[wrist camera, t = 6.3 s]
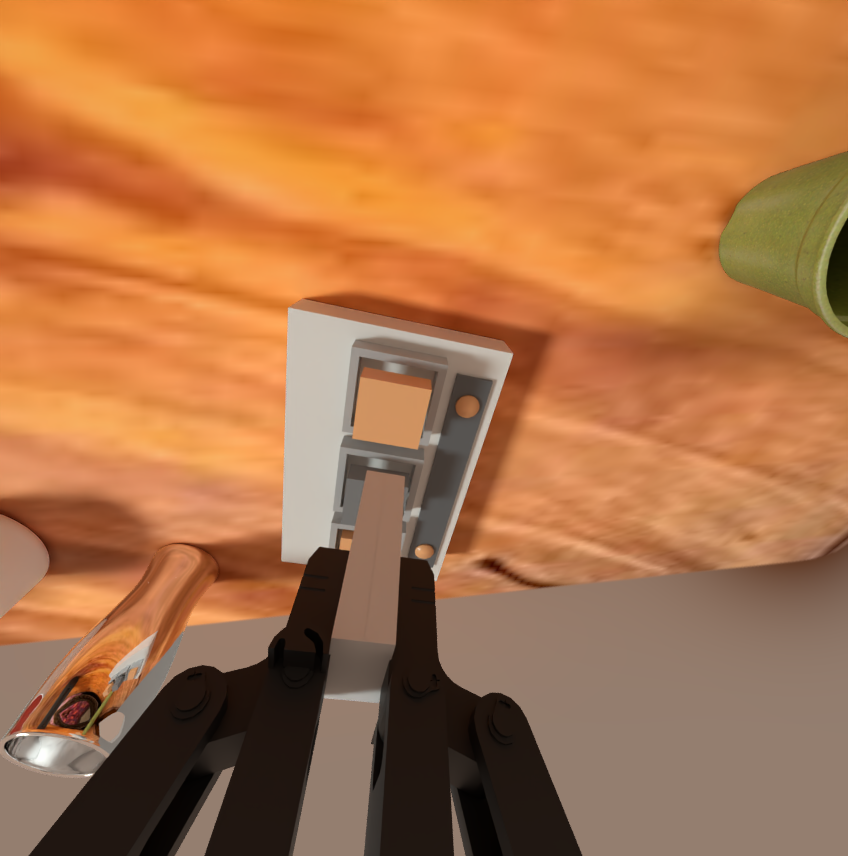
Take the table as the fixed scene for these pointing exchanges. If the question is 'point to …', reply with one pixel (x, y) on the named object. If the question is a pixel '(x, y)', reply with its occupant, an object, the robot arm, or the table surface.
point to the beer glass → (111, 671)
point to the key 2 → (391, 408)
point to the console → (336, 450)
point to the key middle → (356, 487)
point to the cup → (19, 562)
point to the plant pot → (795, 239)
